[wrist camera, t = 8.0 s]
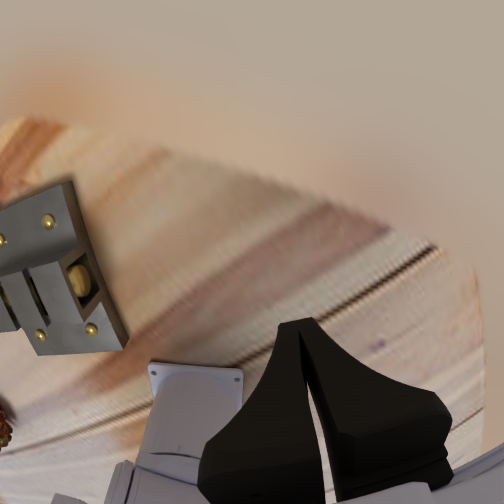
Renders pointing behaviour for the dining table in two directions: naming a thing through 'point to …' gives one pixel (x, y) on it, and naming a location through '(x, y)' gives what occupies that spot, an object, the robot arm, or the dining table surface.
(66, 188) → the hinge leaves
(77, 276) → the pin
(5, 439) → the dragon fruit
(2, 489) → the dining table surface
